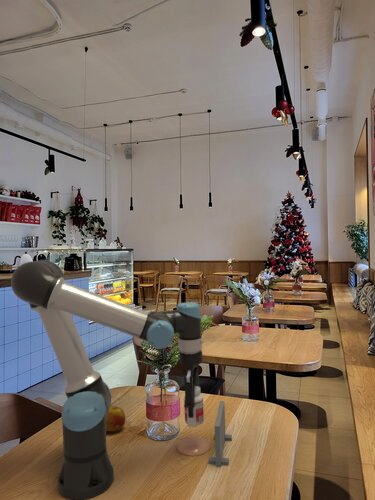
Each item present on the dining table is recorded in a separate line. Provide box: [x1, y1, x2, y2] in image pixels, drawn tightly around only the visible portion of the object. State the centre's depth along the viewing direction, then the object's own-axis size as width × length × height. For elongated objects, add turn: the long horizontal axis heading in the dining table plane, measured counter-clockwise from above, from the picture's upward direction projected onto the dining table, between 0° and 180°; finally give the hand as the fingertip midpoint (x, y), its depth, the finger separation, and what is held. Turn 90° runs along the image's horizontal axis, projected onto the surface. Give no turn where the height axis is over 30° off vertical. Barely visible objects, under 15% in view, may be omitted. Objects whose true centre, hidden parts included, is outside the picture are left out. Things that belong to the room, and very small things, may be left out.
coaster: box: [176, 435, 212, 457], centre depth 123 cm, size 11×11×1 cm
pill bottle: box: [183, 386, 205, 427], centre depth 123 cm, size 6×6×11 cm
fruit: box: [106, 405, 126, 432], centre depth 137 cm, size 10×9×8 cm
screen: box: [208, 400, 233, 468], centre depth 121 cm, size 18×6×12 cm, turn 170°
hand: (193, 421), depth 123 cm, fingers closed on pill bottle, 6 cm apart
